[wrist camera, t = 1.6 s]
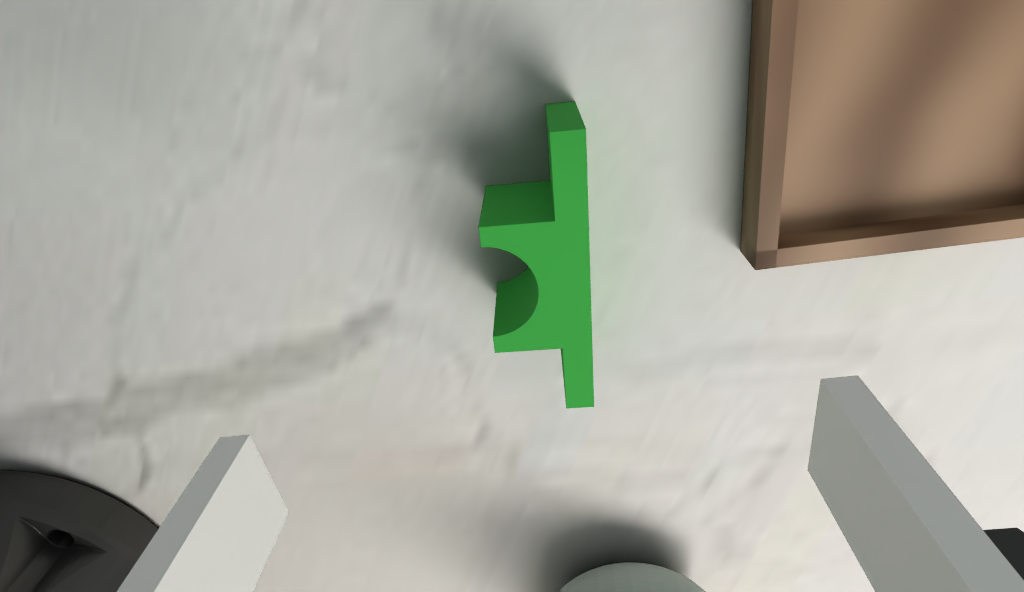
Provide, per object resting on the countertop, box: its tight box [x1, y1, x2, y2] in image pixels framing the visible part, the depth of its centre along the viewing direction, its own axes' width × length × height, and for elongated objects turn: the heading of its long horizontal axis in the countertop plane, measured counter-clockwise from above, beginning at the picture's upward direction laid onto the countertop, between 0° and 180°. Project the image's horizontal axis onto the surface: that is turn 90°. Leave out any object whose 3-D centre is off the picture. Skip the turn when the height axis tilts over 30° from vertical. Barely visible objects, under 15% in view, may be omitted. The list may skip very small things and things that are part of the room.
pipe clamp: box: [479, 101, 594, 408], centre depth 22 cm, size 11×4×5 cm, turn 5°
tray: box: [740, 0, 1024, 270], centre depth 19 cm, size 12×17×2 cm
